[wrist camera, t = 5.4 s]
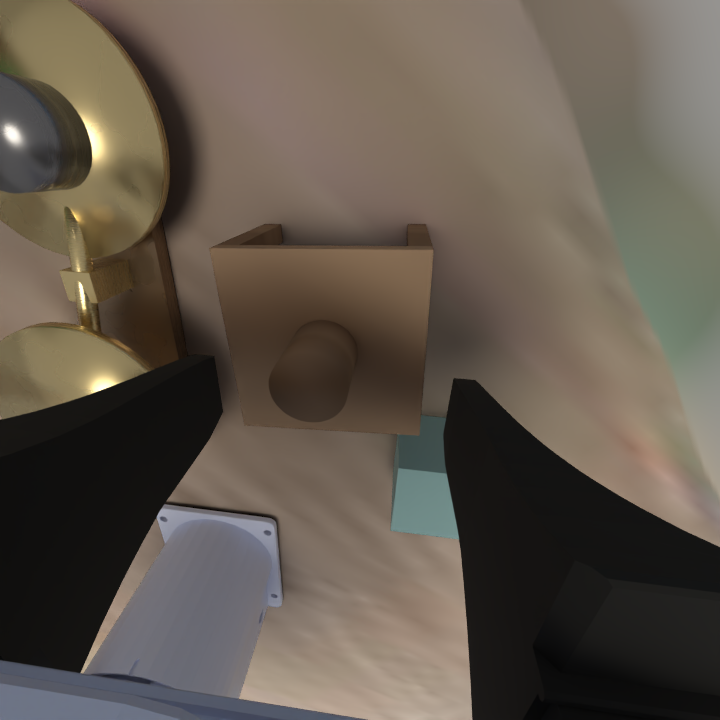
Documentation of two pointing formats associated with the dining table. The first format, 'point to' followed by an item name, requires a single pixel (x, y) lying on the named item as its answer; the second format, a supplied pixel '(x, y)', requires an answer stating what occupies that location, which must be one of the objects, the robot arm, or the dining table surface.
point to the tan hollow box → (327, 330)
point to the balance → (83, 204)
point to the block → (422, 483)
